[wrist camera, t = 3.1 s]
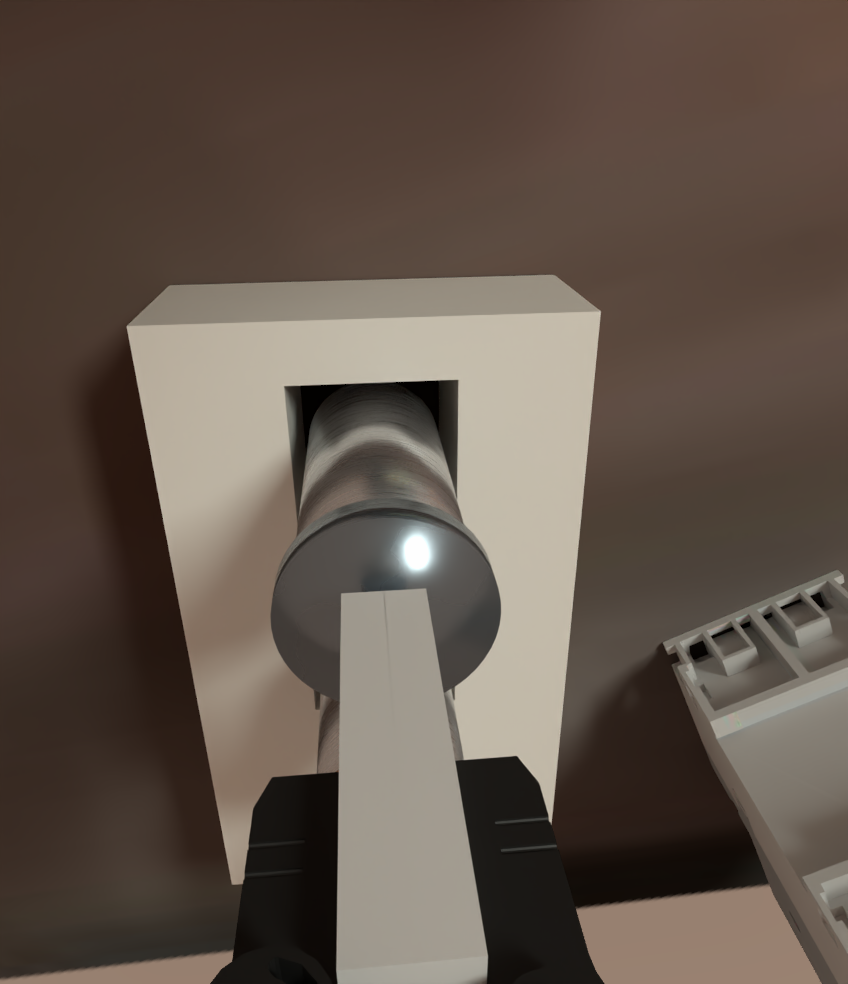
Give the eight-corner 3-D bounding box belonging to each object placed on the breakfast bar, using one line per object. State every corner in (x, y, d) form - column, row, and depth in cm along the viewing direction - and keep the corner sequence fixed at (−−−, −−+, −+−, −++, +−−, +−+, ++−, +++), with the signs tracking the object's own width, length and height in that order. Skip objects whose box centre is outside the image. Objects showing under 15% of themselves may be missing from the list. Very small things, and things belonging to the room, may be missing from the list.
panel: (169, 285, 23) (126, 326, 19) (553, 274, 24) (600, 311, 20) (247, 779, 32) (232, 884, 28) (521, 758, 33) (548, 857, 29)
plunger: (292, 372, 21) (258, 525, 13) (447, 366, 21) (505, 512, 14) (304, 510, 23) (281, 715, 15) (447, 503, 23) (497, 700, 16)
